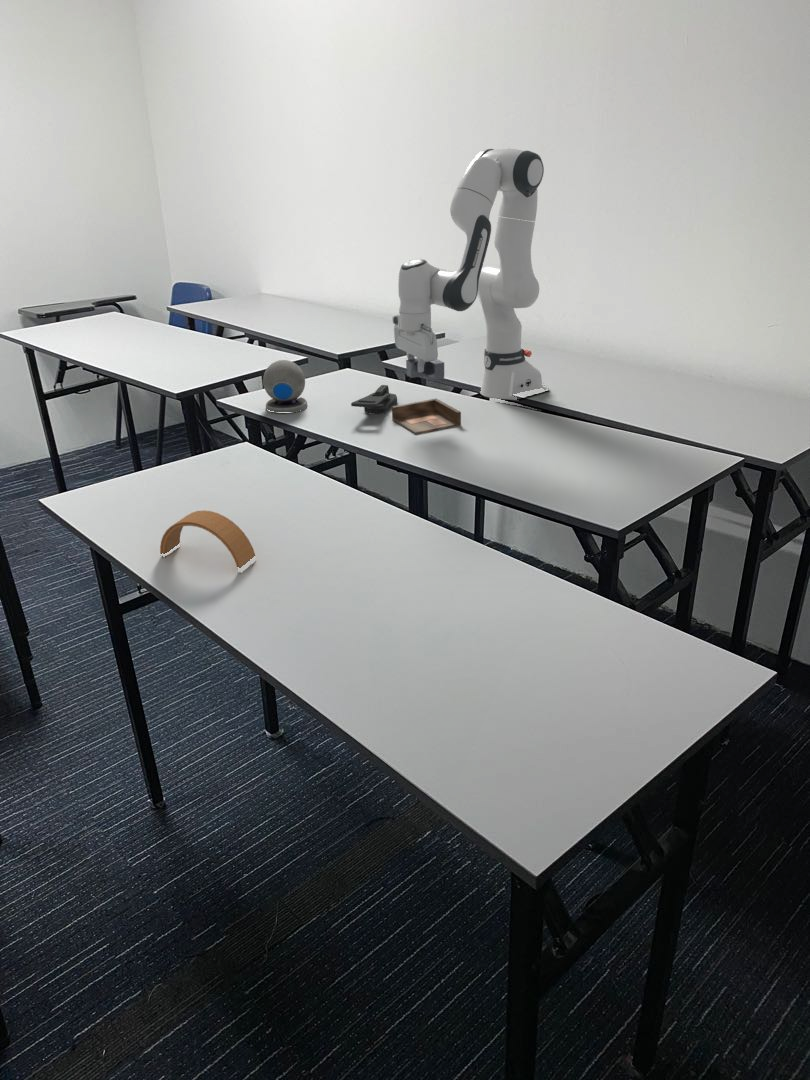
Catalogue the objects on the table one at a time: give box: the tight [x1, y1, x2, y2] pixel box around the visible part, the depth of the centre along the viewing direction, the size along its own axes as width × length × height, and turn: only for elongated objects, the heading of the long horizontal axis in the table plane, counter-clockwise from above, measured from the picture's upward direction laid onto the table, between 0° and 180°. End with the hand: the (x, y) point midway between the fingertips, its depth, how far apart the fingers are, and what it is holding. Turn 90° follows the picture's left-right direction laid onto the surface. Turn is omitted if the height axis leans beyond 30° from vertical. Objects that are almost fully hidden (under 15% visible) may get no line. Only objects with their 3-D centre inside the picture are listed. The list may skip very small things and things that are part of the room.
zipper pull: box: [350, 384, 398, 415], centre depth 251 cm, size 9×7×25 cm
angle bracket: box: [405, 357, 445, 380], centre depth 233 cm, size 8×8×4 cm
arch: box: [159, 510, 256, 568], centre depth 168 cm, size 6×20×10 cm, turn 66°
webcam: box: [262, 359, 308, 413], centre depth 255 cm, size 13×13×15 cm
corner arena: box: [391, 398, 462, 435], centre depth 241 cm, size 15×15×4 cm
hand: (416, 369), depth 235 cm, fingers closed on angle bracket, 3 cm apart
